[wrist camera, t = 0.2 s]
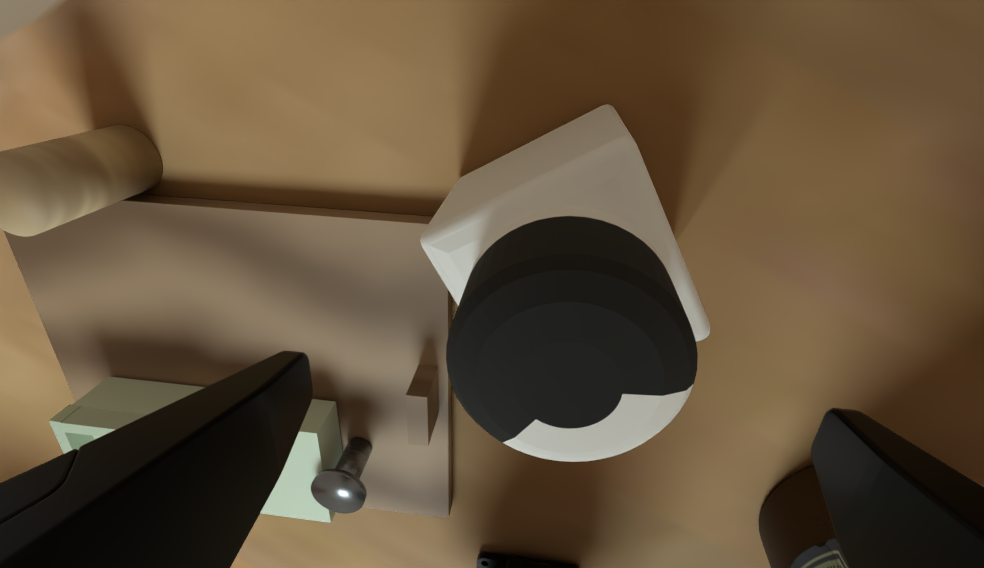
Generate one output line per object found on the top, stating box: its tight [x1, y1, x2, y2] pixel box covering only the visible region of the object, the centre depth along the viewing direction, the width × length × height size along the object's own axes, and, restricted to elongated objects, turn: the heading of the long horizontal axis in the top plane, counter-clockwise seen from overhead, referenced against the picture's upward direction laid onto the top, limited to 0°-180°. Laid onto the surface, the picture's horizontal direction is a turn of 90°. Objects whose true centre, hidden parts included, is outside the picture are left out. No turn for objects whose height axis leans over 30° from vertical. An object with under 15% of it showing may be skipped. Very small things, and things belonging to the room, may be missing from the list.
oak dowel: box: [0, 125, 163, 237], centre depth 21 cm, size 3×3×6 cm
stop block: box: [406, 365, 439, 446], centre depth 25 cm, size 3×1×2 cm, turn 178°
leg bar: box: [49, 377, 342, 523], centre depth 28 cm, size 13×6×4 cm, turn 88°
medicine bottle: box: [420, 104, 710, 462], centre depth 17 cm, size 7×7×12 cm
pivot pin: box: [311, 437, 372, 513], centre depth 27 cm, size 3×3×3 cm
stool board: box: [4, 194, 452, 519], centre depth 28 cm, size 18×22×1 cm
